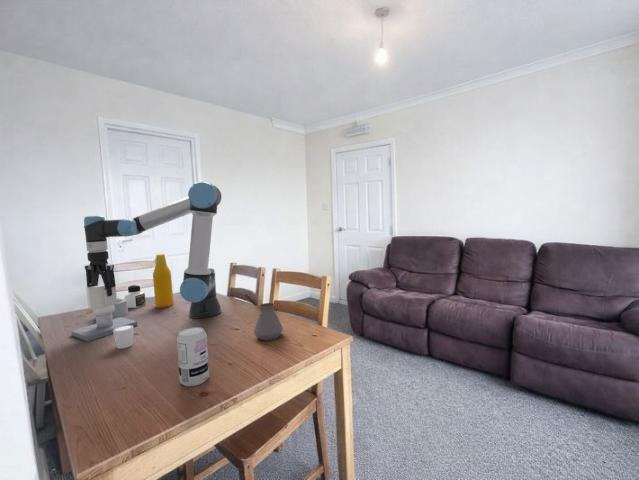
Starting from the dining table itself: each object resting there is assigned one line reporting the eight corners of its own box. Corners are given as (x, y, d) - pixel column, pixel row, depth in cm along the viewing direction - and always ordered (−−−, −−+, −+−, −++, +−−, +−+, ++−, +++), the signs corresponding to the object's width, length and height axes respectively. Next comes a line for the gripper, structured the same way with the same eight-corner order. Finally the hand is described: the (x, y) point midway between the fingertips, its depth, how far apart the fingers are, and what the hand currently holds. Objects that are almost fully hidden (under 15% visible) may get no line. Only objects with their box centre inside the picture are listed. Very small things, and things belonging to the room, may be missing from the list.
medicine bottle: (136, 308, 175) (134, 286, 174) (125, 307, 176) (123, 286, 175) (145, 304, 182) (144, 284, 181) (135, 304, 183) (133, 284, 182)
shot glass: (139, 342, 125) (137, 325, 124) (123, 350, 118) (121, 332, 118) (126, 341, 127) (124, 324, 126) (110, 348, 121) (108, 330, 120)
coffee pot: (289, 335, 126) (287, 298, 124) (265, 345, 118) (263, 305, 116) (258, 324, 141) (256, 291, 139) (235, 331, 132) (233, 296, 131)
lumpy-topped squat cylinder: (97, 316, 163) (95, 300, 162) (126, 310, 171) (125, 295, 170) (99, 321, 155) (97, 304, 154) (129, 315, 163) (128, 298, 162)
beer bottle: (176, 302, 183) (172, 253, 180) (169, 307, 173) (164, 255, 171) (160, 303, 182) (156, 253, 180) (152, 308, 173) (147, 256, 171)
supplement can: (185, 374, 98) (181, 327, 97) (212, 372, 98) (209, 325, 97) (175, 388, 90) (171, 337, 88) (205, 386, 90) (201, 335, 89)
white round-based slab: (113, 307, 147) (110, 282, 146) (119, 310, 141) (117, 284, 140) (83, 314, 138) (80, 287, 137) (88, 318, 132) (85, 290, 131)
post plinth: (137, 325, 145) (135, 308, 145) (87, 341, 128) (85, 322, 128) (120, 320, 153) (119, 304, 153) (71, 335, 136) (69, 317, 136)
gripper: (72, 252, 136) (78, 305, 138) (107, 252, 132) (112, 306, 134) (88, 250, 144) (94, 300, 146) (122, 249, 139) (127, 301, 141)
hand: (103, 302), depth 140 cm, fingers closed on white round-based slab, 6 cm apart
